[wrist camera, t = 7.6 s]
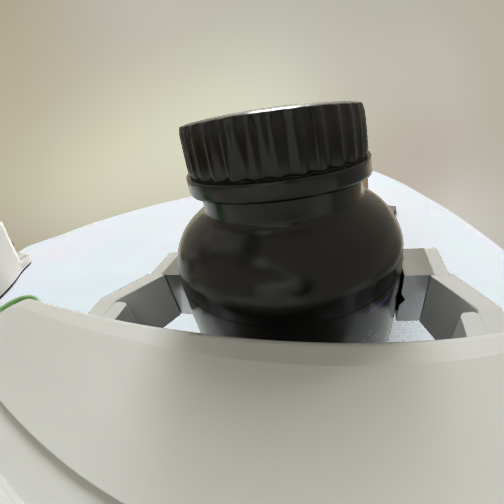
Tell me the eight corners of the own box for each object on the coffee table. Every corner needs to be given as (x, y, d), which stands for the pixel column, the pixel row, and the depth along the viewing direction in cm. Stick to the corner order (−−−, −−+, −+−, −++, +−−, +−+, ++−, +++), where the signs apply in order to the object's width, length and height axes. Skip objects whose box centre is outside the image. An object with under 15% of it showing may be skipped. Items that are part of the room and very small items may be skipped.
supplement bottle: (366, 456, 8) (449, 107, 2) (214, 433, 11) (72, 165, 5) (376, 339, 14) (383, 96, 8) (259, 331, 16) (208, 116, 10)
